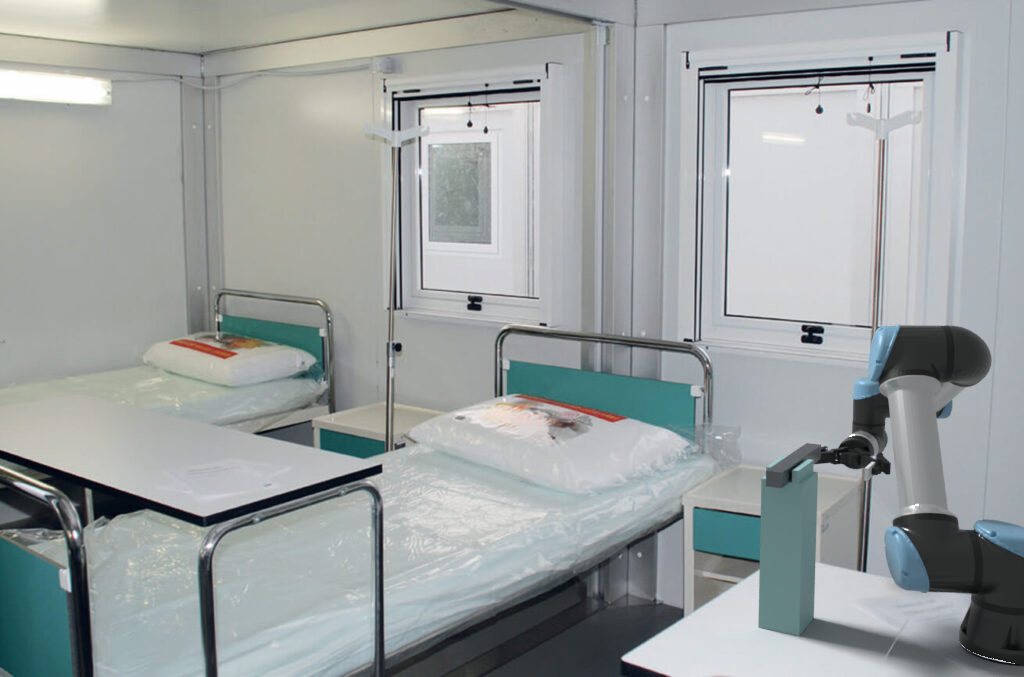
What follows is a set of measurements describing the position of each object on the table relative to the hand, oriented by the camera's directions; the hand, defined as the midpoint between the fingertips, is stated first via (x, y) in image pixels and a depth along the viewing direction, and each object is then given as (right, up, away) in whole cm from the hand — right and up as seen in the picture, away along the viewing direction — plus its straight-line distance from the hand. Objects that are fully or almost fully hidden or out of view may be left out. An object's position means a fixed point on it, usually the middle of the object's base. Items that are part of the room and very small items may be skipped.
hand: (833, 470), depth 216 cm
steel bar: (-14, +2, -20) cm, 24 cm away
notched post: (-15, -28, -19) cm, 37 cm away
